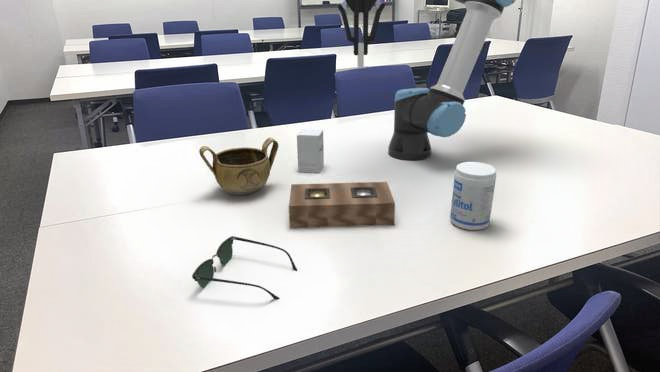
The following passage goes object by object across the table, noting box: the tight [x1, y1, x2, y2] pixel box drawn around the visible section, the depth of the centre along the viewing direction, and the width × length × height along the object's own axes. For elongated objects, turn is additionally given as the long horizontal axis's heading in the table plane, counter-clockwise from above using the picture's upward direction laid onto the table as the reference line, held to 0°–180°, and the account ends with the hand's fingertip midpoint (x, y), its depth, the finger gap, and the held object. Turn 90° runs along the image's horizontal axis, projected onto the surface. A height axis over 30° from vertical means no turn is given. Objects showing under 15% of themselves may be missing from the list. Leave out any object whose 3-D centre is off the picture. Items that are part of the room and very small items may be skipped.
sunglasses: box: [191, 235, 298, 300], centre depth 97 cm, size 16×17×5 cm
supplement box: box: [296, 128, 325, 174], centre depth 154 cm, size 7×7×13 cm
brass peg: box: [310, 191, 325, 197], centre depth 123 cm, size 4×4×6 cm
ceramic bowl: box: [198, 137, 279, 196], centre depth 138 cm, size 22×17×15 cm
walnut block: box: [288, 181, 396, 229], centre depth 123 cm, size 26×14×6 cm, turn 92°
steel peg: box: [356, 190, 372, 196], centre depth 123 cm, size 4×4×6 cm
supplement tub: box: [449, 161, 497, 231], centre depth 116 cm, size 10×10×15 cm
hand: (360, 67), depth 133 cm, fingers closed
